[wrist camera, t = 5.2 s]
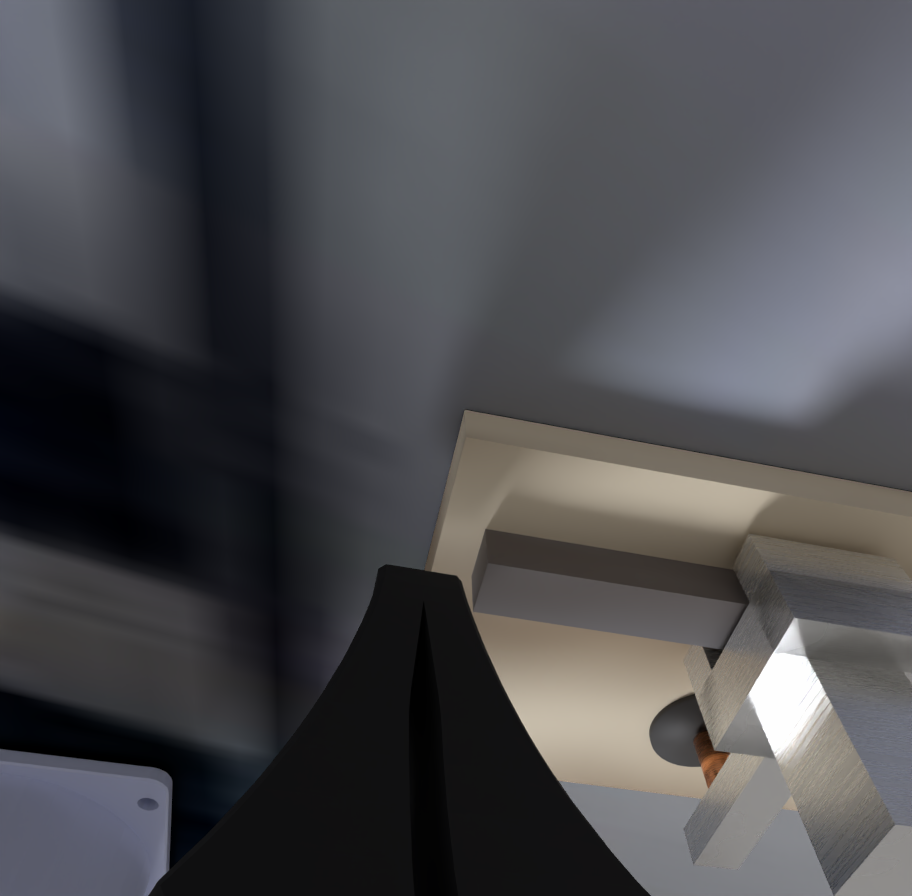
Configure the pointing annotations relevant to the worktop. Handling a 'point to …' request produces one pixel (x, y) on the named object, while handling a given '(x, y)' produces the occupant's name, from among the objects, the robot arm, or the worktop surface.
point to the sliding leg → (811, 715)
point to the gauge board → (624, 580)
